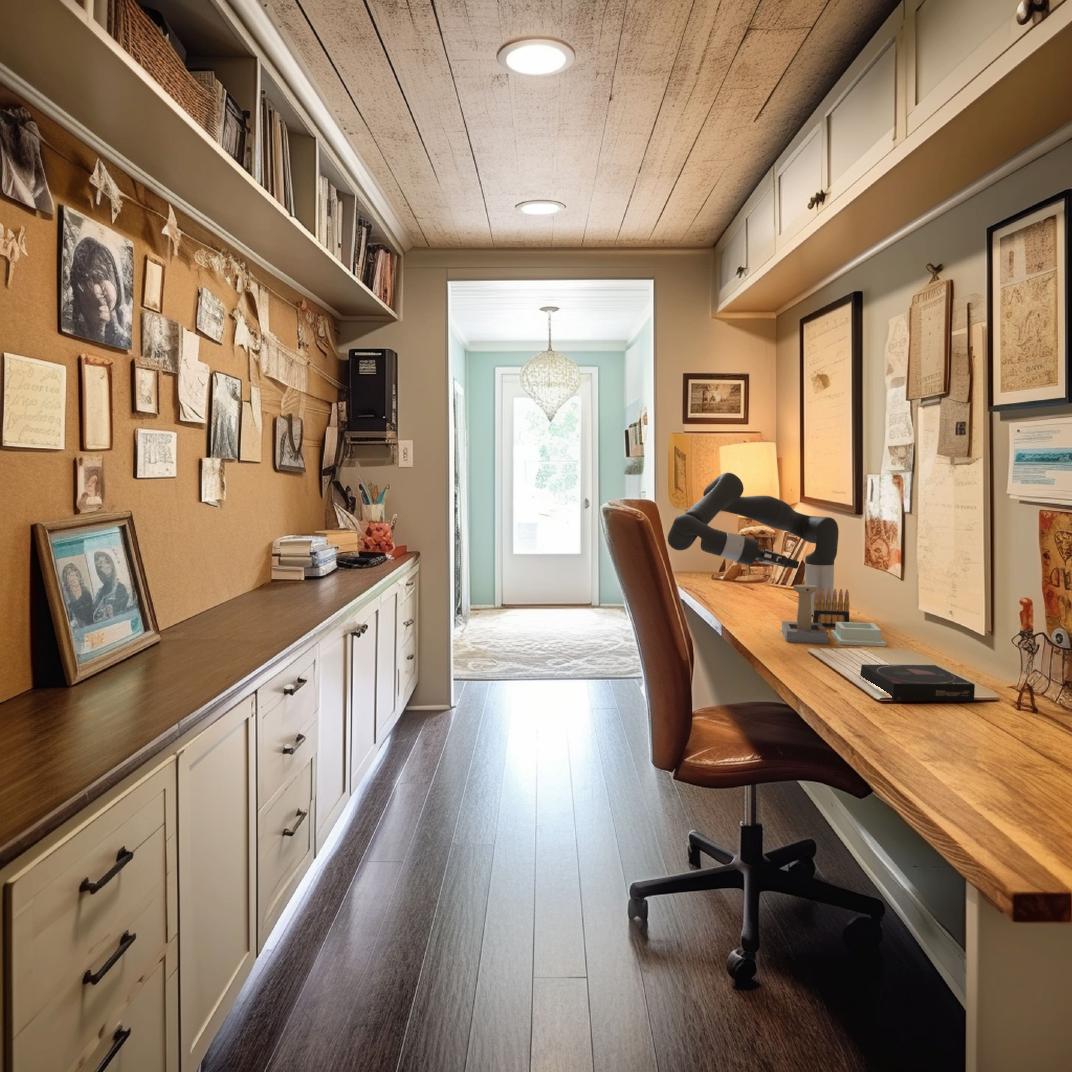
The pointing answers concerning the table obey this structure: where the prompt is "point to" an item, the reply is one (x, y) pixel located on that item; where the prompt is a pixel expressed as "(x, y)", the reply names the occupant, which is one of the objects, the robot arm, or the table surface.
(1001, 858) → the table surface
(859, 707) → the table surface
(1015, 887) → the table surface
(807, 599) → the handle
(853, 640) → the grey shallow tray
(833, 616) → the ammunition clip
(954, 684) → the portable cd player
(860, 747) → the table surface
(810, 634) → the socket block
